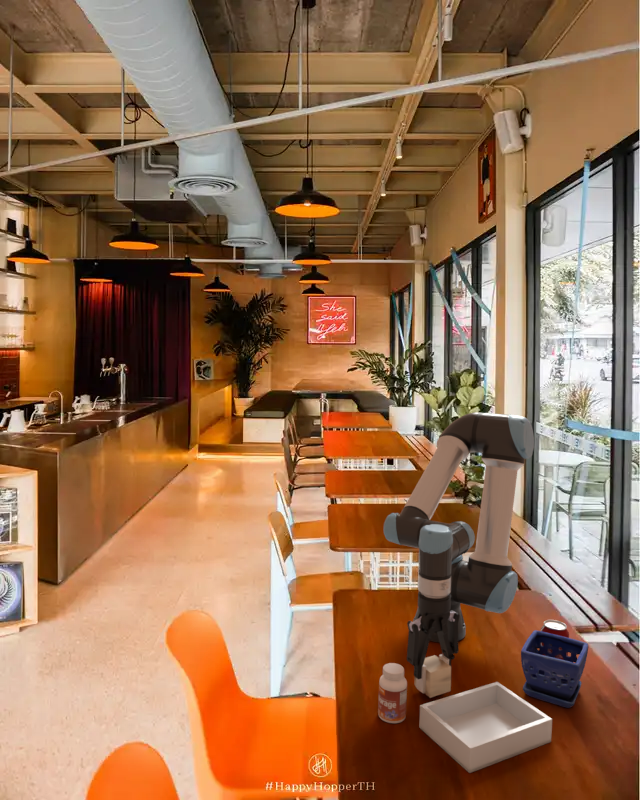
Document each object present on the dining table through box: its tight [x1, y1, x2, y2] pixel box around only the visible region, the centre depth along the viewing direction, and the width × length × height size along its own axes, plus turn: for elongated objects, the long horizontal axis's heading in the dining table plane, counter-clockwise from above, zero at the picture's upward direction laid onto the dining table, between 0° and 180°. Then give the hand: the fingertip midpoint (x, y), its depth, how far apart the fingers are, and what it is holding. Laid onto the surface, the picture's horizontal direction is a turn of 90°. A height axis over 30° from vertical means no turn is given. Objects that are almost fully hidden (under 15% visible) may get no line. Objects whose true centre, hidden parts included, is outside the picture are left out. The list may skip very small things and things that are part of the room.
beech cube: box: [414, 654, 452, 699], centre depth 145 cm, size 6×6×6 cm
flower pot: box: [520, 629, 589, 709], centre depth 146 cm, size 13×13×12 cm
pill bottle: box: [377, 662, 408, 724], centre depth 136 cm, size 6×6×11 cm
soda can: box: [540, 619, 570, 660], centre depth 157 cm, size 7×7×12 cm
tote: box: [418, 681, 553, 774], centre depth 130 cm, size 16×22×5 cm
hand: (432, 686), depth 145 cm, fingers closed on beech cube, 6 cm apart
